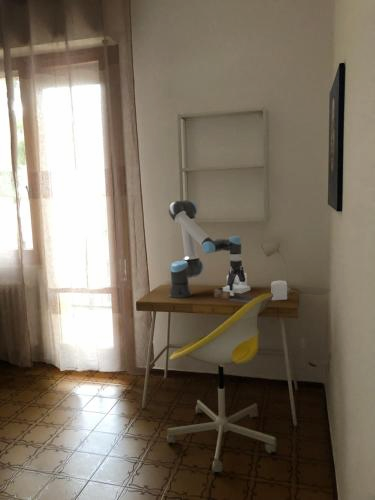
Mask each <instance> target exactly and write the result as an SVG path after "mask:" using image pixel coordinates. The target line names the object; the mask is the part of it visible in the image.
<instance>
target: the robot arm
mask: <svg viewBox="0 0 375 500" xmlns="http://www.w3.org/2000/svg"><path fill="white" fill-rule="evenodd" d="M197 213H198V207H197V204H196V203H195V202H194V201H192V200H188V199H186V200H175V201H173V202H171V203H170V205H169V206H168V214H169V216H170V218H171V219H172V220H173V221H174V222H175V223H178V224H179V225H180V226H181V234H182V245H183V253H184V257H183V258H182V260H176V261H174V262H171V265H170V275H171V276H170V279H171V280H170V281H171V283H170V284H171V286H170V290H169V297H170V298H174V299H184V298H188V297H189V298H190V297H191V296H192V291H191V287H190V285H189V279H191V278H196V277H199V276H200V275H201V274H202V273H203V272H204V263H203V262H202V260H201V259H200V256H199V255H198V253H197V245H196V242H197V243H198V244H199V245H200V246H201V250H202V251H203V253H205V254H213V253H217V252H222V251H226V252H227V251H228V252H229V260H230V261H229V266H230V267H231V269H228V274H227V276H228V282H227V281H226V286H227V285H229V288H230V295H232V296H234V285H233V283H234V280H235V276H236V275H238V278H239V280H240V282H239V285H244V283H243V282H245V275H244V273H245V272H244V266H243V262H242V238H241V236H238V235H234V236H229V237H228V239H225V238H217V239H216V238H215V239H214V240H213V239H212V238H211V237H210V236H209V235H208V234H207V233H206V232H205V231H204V230H203V229H202V228H201V227H200V226H198V225H197V224H196V223H195V222H194V220H195V219H196V215H197ZM231 283H232V284H231Z"/></svg>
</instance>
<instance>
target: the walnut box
mask: <svg viewBox="0 0 375 500" xmlns="http://www.w3.org/2000/svg"><path fill="white" fill-rule="evenodd" d="M223 287H224V286H220V287H217V288H214V289H213V297H214V298H221V299H227V300H229V299H232V298H234V297H237V293H234V296H232V295H230V292H226V291H223Z"/></svg>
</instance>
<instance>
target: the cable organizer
mask: <svg viewBox="0 0 375 500" xmlns="http://www.w3.org/2000/svg"><path fill="white" fill-rule="evenodd" d="M244 275H245V282H243V283H244V286H248V279H247V278H248V277H247V275H248V274H247V272H244ZM225 278H226V283H227V282H228V275H227V276H226V277H225ZM239 282H240V280H239V278H238V275H236V276H235V280H234V283H233V284H235V285H239ZM231 284H232V283H231ZM226 286H228V285H227V284H226Z"/></svg>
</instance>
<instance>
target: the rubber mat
mask: <svg viewBox="0 0 375 500" xmlns="http://www.w3.org/2000/svg"><path fill="white" fill-rule="evenodd" d="M255 297H256V296H250V295H242V294H240V295H238V296H237V295H236V297H233V298H231V299H228V300H229V301H230V302H238V303H244V304H248V303H247V302H249V301H251V300H252V299H253V298H255Z"/></svg>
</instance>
